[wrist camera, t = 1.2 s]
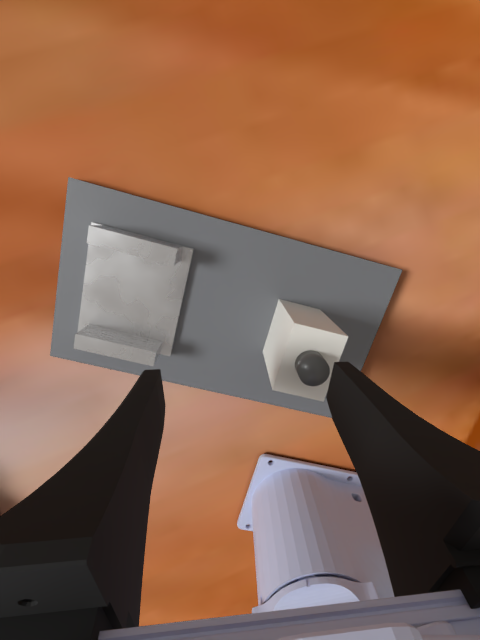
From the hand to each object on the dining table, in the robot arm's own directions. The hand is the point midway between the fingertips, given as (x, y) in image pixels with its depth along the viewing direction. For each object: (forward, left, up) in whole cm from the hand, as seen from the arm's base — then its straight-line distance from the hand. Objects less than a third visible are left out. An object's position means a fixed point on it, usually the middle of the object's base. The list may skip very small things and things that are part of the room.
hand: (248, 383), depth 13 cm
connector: (-4, 0, -9) cm, 10 cm away
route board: (+1, 0, -10) cm, 10 cm away
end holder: (+7, 0, -10) cm, 13 cm away
